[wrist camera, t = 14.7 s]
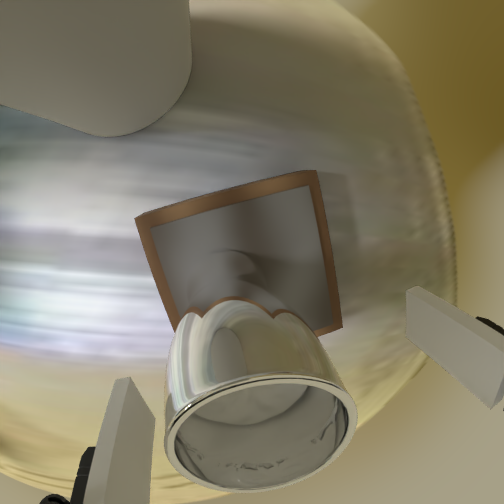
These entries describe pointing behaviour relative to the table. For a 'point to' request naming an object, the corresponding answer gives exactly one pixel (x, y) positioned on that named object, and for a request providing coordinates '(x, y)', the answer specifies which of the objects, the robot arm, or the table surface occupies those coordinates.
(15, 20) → the cylinder vase
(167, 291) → the walnut stand
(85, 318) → the table surface
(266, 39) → the table surface
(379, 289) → the table surface
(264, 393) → the beer glass
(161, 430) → the table surface
